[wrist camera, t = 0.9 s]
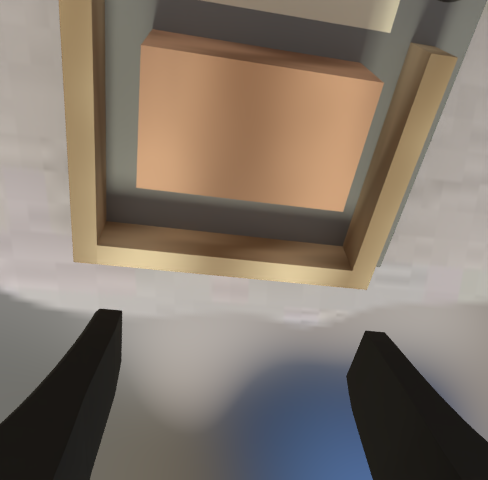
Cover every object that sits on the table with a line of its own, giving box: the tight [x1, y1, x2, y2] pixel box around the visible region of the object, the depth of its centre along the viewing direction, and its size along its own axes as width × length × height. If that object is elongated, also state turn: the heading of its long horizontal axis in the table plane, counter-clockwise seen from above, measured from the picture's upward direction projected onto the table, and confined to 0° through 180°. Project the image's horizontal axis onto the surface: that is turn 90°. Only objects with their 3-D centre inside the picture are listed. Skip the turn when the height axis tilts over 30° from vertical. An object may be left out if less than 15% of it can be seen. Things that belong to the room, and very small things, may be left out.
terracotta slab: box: [136, 29, 384, 212], centre depth 17 cm, size 8×5×3 cm, turn 81°
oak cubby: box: [59, 0, 458, 290], centre depth 19 cm, size 13×10×2 cm
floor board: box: [105, 0, 487, 267], centre depth 18 cm, size 15×16×1 cm
